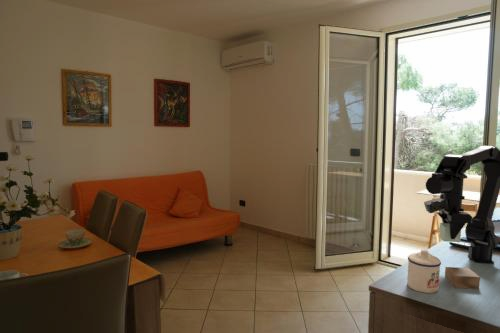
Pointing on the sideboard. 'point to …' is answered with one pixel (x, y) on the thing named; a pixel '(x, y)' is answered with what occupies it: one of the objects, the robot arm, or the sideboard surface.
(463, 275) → the walnut block
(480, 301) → the sideboard surface
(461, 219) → the robot arm
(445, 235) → the green cube
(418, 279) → the teacup with lid
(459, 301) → the sideboard surface
